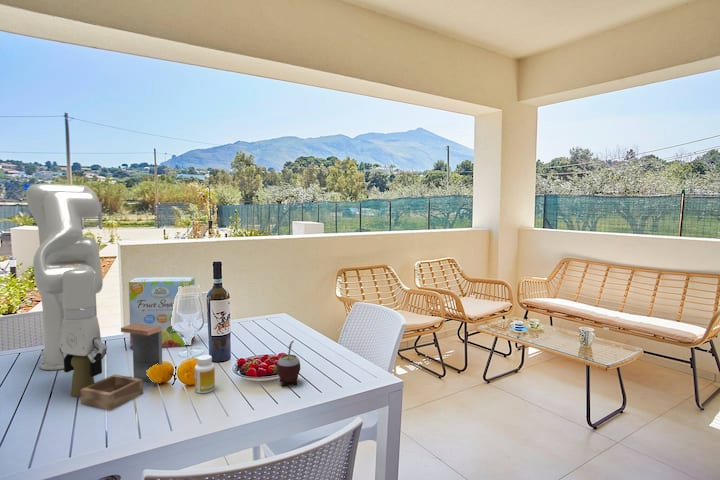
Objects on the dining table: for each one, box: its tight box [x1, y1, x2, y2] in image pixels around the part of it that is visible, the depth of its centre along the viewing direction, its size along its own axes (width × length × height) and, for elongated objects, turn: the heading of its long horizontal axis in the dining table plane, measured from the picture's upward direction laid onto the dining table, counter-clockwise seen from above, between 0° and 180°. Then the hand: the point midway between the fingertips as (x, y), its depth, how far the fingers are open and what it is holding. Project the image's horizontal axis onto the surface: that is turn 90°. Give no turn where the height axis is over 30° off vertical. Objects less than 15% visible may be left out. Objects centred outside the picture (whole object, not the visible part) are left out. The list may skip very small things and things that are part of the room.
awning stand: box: [120, 323, 163, 384], centre depth 120 cm, size 10×5×17 cm, turn 72°
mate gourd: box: [276, 340, 301, 388], centre depth 121 cm, size 8×8×15 cm
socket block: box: [80, 373, 144, 411], centre depth 111 cm, size 10×10×4 cm
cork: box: [70, 355, 96, 398], centre depth 114 cm, size 6×6×11 cm
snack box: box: [128, 276, 196, 350], centre depth 153 cm, size 22×9×26 cm, turn 104°
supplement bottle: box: [194, 354, 216, 394], centre depth 117 cm, size 5×5×10 cm
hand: (83, 372), depth 113 cm, fingers open, 9 cm apart
